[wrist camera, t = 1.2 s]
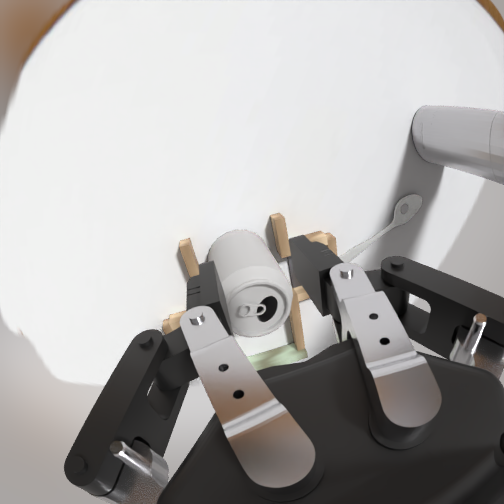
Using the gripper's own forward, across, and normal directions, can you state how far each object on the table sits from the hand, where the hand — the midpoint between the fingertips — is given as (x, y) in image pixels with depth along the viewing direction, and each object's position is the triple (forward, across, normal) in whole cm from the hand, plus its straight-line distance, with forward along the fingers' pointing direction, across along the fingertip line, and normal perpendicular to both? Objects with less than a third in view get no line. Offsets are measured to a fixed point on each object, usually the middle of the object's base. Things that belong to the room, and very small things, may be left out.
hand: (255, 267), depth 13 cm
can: (+19, 0, +8) cm, 21 cm away
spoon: (+20, -20, +11) cm, 30 cm away
